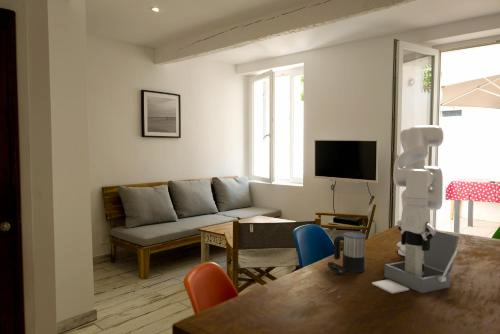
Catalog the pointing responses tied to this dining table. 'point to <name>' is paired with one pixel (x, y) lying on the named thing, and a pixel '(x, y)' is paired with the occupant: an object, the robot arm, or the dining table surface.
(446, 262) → the case
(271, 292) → the dining table surface
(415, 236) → the spray can
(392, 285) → the pad
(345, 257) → the milk frother
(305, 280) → the dining table surface
